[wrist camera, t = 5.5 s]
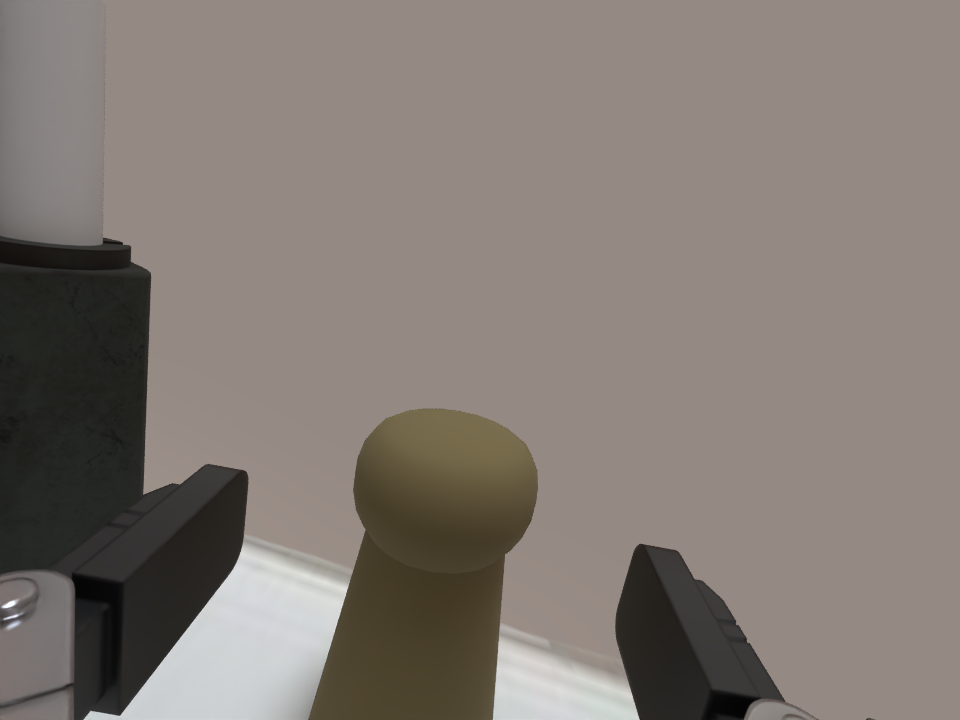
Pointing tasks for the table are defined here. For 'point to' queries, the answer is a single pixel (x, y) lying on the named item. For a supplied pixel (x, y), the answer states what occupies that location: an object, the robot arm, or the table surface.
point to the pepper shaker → (428, 569)
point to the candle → (63, 294)
